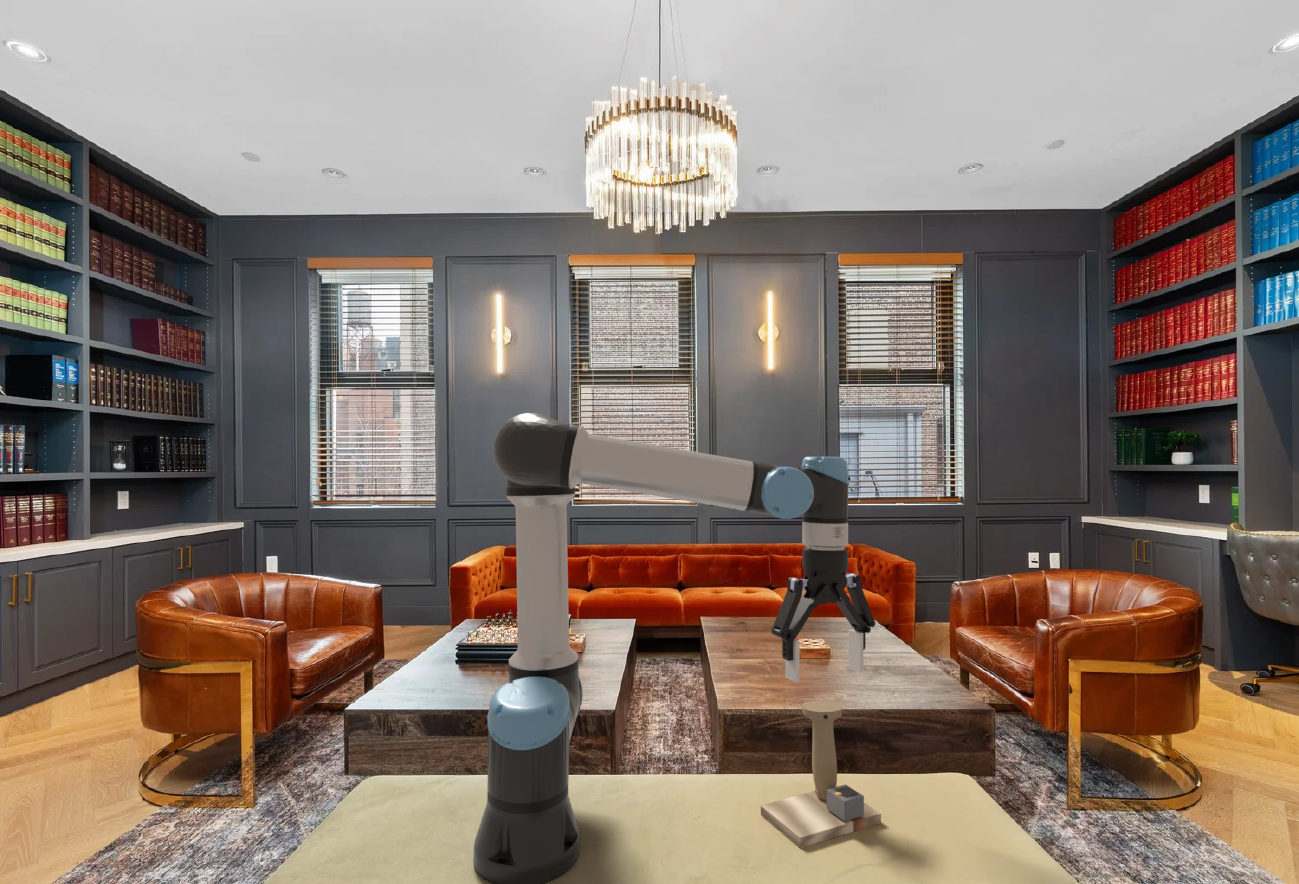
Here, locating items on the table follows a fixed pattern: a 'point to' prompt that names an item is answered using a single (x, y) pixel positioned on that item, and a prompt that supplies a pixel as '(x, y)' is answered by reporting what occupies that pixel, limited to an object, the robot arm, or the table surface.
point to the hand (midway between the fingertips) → (824, 674)
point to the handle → (823, 744)
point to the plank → (813, 819)
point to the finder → (845, 802)
